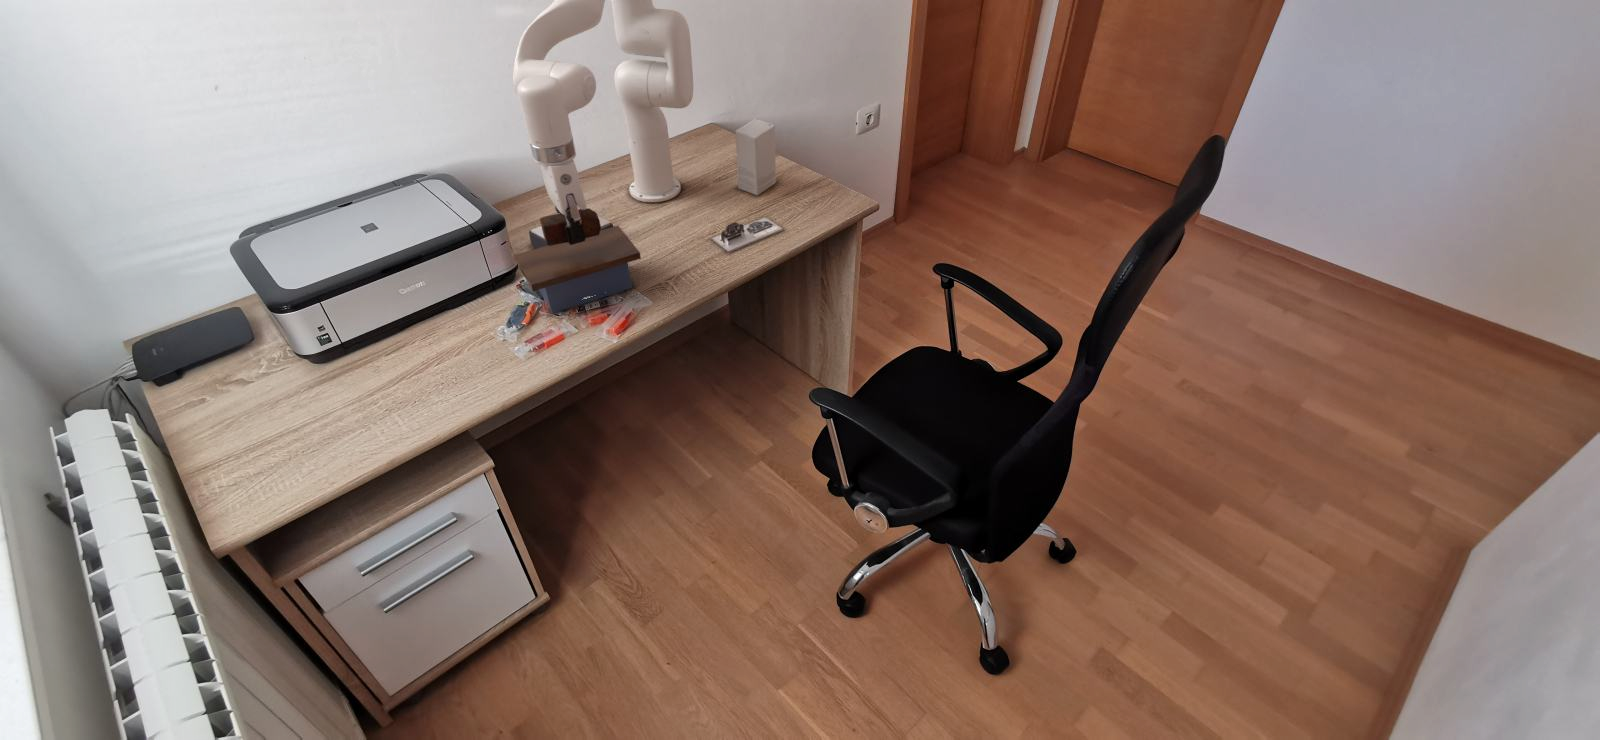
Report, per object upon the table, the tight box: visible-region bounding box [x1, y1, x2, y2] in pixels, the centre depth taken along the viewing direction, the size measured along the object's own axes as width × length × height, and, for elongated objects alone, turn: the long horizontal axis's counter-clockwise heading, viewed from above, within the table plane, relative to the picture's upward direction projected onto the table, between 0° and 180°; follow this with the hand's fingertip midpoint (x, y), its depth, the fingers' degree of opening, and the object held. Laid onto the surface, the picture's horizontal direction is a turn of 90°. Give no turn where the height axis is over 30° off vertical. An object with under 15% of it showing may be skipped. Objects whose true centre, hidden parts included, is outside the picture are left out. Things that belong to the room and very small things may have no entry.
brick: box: [539, 207, 601, 246], centre depth 145 cm, size 11×4×5 cm, turn 116°
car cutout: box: [712, 216, 783, 253], centre depth 169 cm, size 15×7×4 cm, turn 129°
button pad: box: [528, 208, 614, 249], centre depth 167 cm, size 11×4×15 cm
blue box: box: [538, 262, 633, 314], centre depth 153 cm, size 10×17×7 cm, turn 121°
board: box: [513, 225, 642, 292], centre depth 150 cm, size 12×22×2 cm, turn 121°
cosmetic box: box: [734, 118, 777, 196], centre depth 183 cm, size 8×7×16 cm
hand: (572, 235), depth 147 cm, fingers closed on brick, 4 cm apart
